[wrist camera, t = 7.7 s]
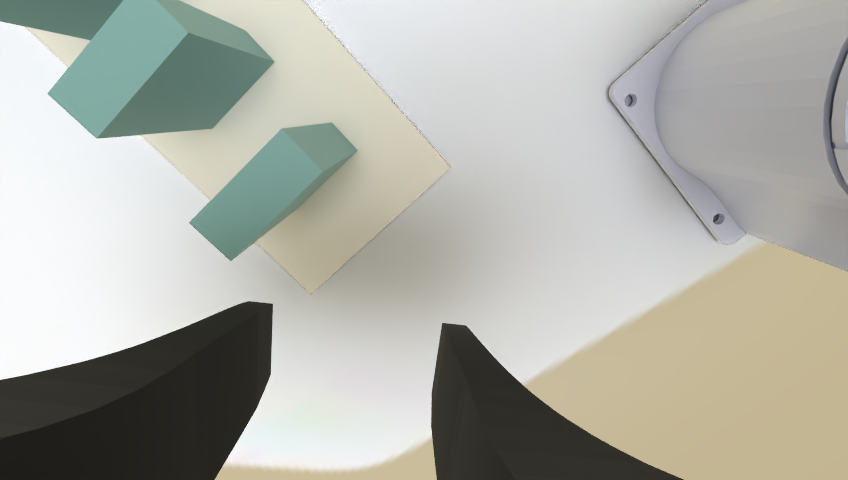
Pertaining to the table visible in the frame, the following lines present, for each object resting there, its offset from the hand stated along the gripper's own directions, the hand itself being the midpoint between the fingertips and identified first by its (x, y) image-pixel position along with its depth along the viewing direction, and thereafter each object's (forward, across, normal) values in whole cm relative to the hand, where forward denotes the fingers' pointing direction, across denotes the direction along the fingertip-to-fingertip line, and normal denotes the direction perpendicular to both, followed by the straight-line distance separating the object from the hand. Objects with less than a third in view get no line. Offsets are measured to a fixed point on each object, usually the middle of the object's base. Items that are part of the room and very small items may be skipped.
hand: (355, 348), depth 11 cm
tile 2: (+10, +7, -6) cm, 14 cm away
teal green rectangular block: (+10, +4, -3) cm, 11 cm away
